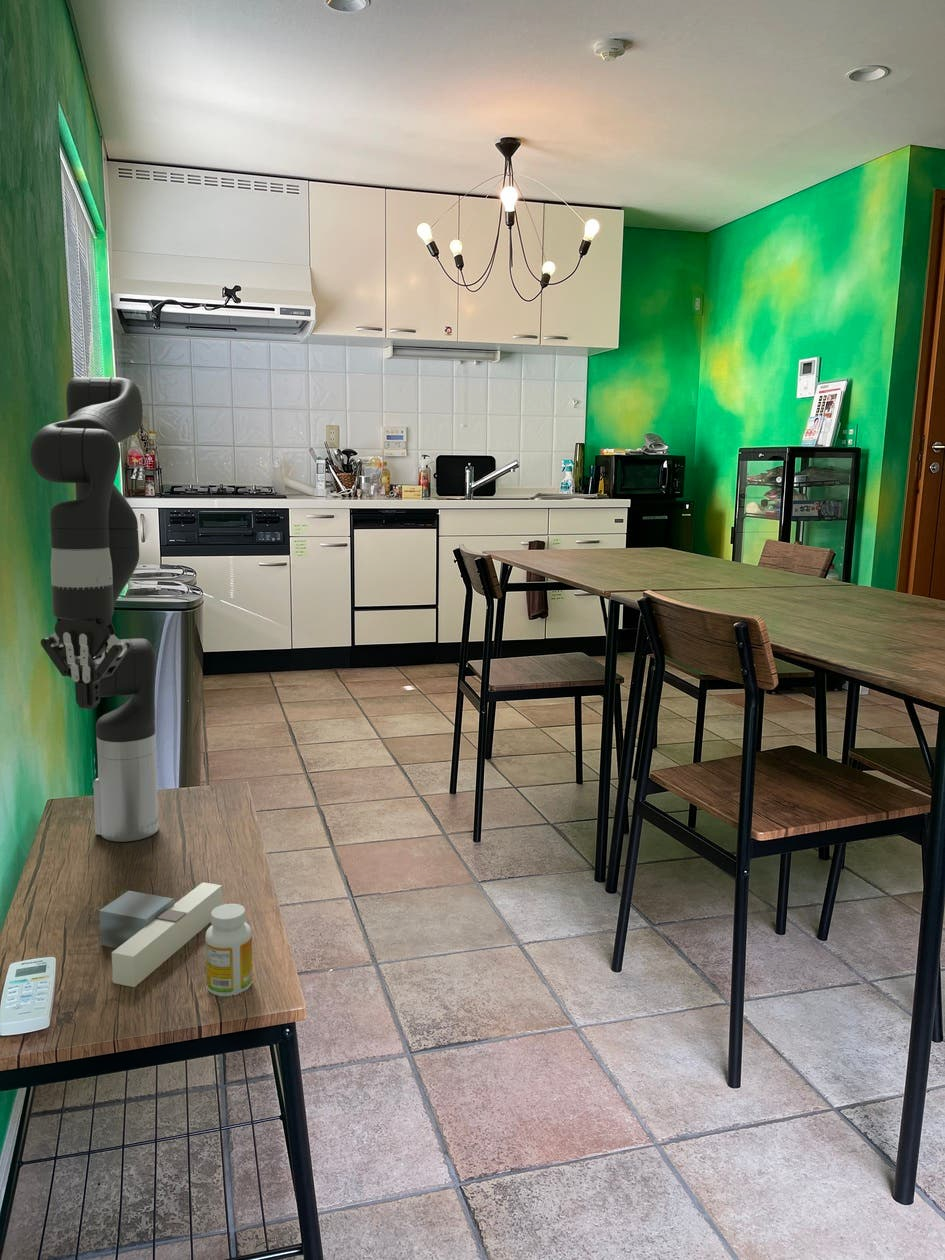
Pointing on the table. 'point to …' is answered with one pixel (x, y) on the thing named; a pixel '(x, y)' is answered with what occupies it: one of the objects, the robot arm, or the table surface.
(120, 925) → the block
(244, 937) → the supplement bottle
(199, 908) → the cream rectangular bar
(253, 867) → the table surface
